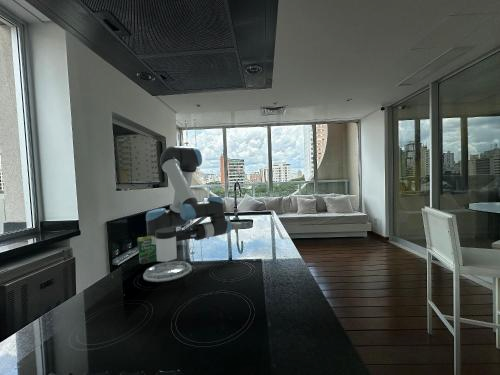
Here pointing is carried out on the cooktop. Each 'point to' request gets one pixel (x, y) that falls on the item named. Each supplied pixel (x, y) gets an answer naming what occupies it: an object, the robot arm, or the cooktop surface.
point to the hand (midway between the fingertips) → (152, 241)
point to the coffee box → (146, 250)
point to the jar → (166, 244)
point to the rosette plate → (167, 271)
